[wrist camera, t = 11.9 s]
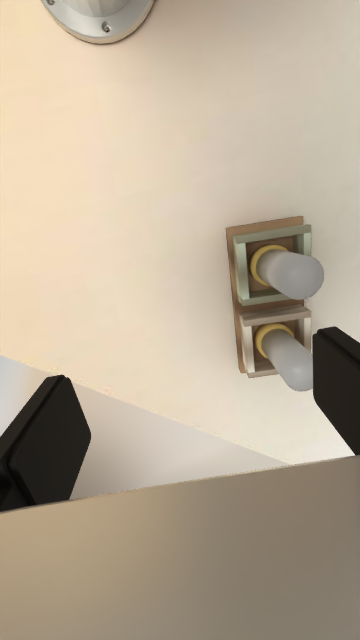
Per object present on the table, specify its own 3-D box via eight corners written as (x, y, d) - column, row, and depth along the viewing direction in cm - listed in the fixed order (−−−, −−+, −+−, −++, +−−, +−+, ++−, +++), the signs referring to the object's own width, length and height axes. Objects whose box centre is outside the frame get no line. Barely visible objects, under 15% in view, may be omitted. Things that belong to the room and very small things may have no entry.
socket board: (225, 227, 34) (232, 228, 30) (297, 216, 34) (315, 215, 30) (238, 368, 41) (246, 384, 37) (299, 359, 41) (314, 375, 36)
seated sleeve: (246, 247, 34) (274, 255, 24) (286, 241, 34) (329, 247, 24) (249, 285, 35) (276, 307, 26) (287, 279, 35) (327, 299, 26)
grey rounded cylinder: (252, 323, 37) (280, 357, 27) (287, 317, 37) (328, 349, 27) (254, 355, 38) (282, 398, 29) (288, 349, 38) (327, 390, 29)
